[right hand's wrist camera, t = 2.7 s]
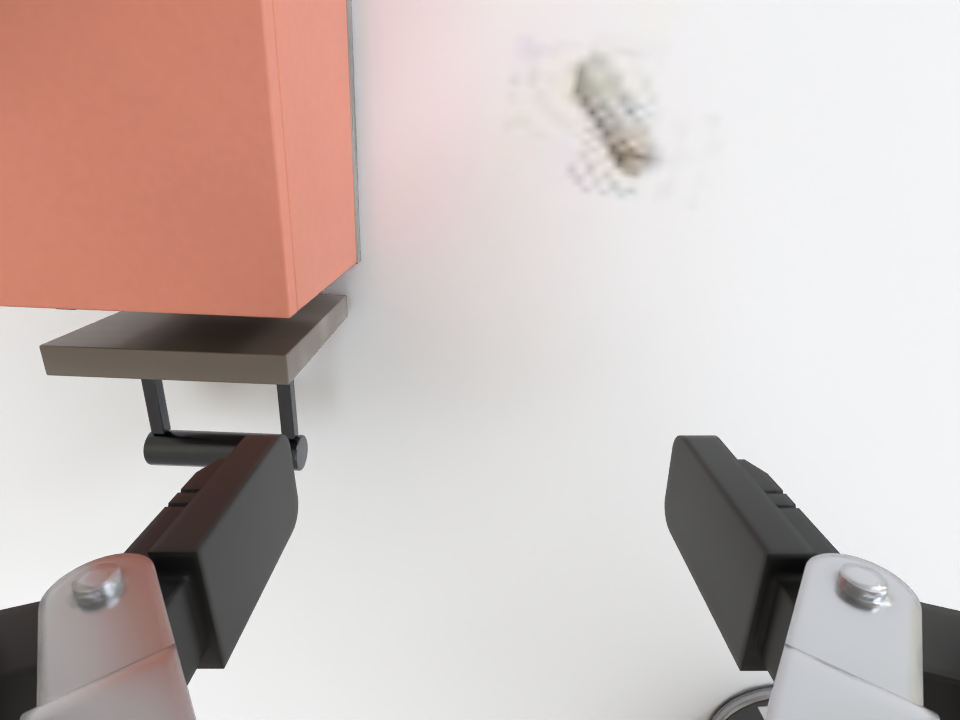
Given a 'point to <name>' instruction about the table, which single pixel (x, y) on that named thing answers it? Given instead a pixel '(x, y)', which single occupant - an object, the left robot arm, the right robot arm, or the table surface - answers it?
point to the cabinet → (176, 154)
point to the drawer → (200, 366)
